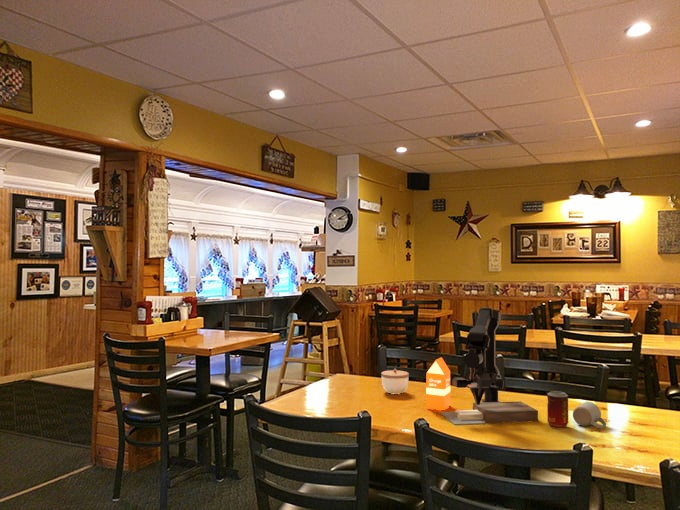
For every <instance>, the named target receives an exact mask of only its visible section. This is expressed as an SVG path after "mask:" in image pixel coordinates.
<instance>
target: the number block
mask: <svg viewBox="0 0 680 510" xmlns="http://www.w3.org/2000/svg"><path fill="white" fill-rule="evenodd" d="M454 412H455V416H456V417H457V418H458V419H459V420H476V419H481V420H482V419H483V414H482V413H481V412H480V411H478V410H473V409H462V410H461V409H459V410H458V409H457V410H454Z"/></svg>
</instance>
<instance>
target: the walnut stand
mask: <svg viewBox="0 0 680 510" xmlns="http://www.w3.org/2000/svg"><path fill="white" fill-rule="evenodd" d="M472 410H478V411H480V412H481V413H482V414H483V419H481V420H482V421H484V422H485V423H486V424H499V423H503V422H504V423H526V422H527V423H528V421H533V422H539V410H538V409H536V408H535V407H532V406H530V405H528V404H526V403H525V402H523V401H522V400H521V401H500V402H483V401H482V402H480V405H477V404H476V402H473V403H472Z"/></svg>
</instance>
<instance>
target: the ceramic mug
mask: <svg viewBox="0 0 680 510" xmlns="http://www.w3.org/2000/svg"><path fill="white" fill-rule="evenodd" d="M572 411H573V412H572V418H573V421H575V422H576V424H578V425H580V426H582V427H588V426H591V425H592V426H593V427H595V428H598V429H600V430H601V429H602V428H603V429H605V427H606V426H607V421H606V420H604V419H603V418H602V412H601V410H600V408H599V406H598V405H597V404H595V403H594V402H592V401H585V402H583V403H581V404H580V405H577V406H576V407H575V408H574V409H573V410H572ZM598 422H599V423H598ZM600 423H601V424H600Z"/></svg>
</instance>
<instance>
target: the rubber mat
mask: <svg viewBox="0 0 680 510" xmlns="http://www.w3.org/2000/svg"><path fill="white" fill-rule="evenodd" d="M440 414H441V415H442V417H445V418H446V419H447V420H448V421H449V422H450V423H451V424H452V425H454V426H461V425H465V426H466V425H469V426H470V425H486V424H487V423H486V422H485V421H484V420H482V419H476V420H459V419H458V418H457V417H456V416H455V411H440Z"/></svg>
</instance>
